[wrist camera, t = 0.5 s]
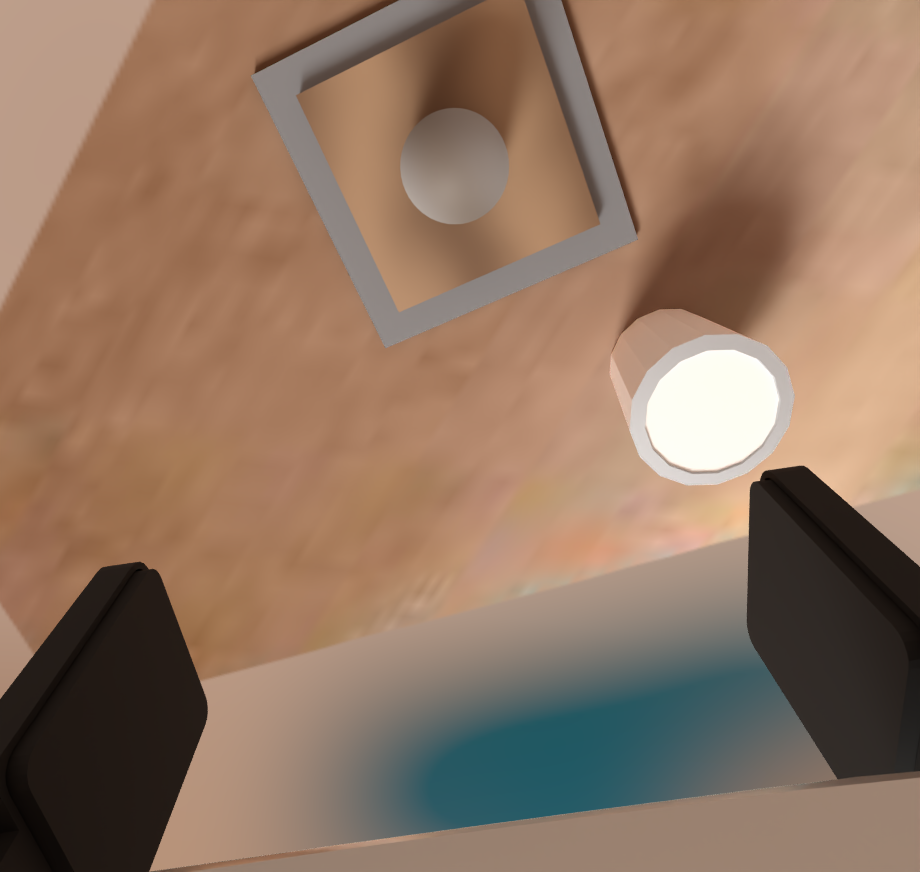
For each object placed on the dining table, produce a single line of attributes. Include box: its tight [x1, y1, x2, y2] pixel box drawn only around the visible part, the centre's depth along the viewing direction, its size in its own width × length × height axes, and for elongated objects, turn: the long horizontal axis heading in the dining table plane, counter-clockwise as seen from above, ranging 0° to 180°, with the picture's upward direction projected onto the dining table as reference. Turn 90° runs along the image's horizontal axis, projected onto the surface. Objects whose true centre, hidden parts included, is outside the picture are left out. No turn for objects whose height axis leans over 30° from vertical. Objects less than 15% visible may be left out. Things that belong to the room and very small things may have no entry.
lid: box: [296, 0, 600, 312], centre depth 28 cm, size 10×10×6 cm
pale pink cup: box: [610, 309, 795, 485], centre depth 32 cm, size 7×7×7 cm
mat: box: [251, 0, 638, 348], centre depth 31 cm, size 13×13×1 cm
